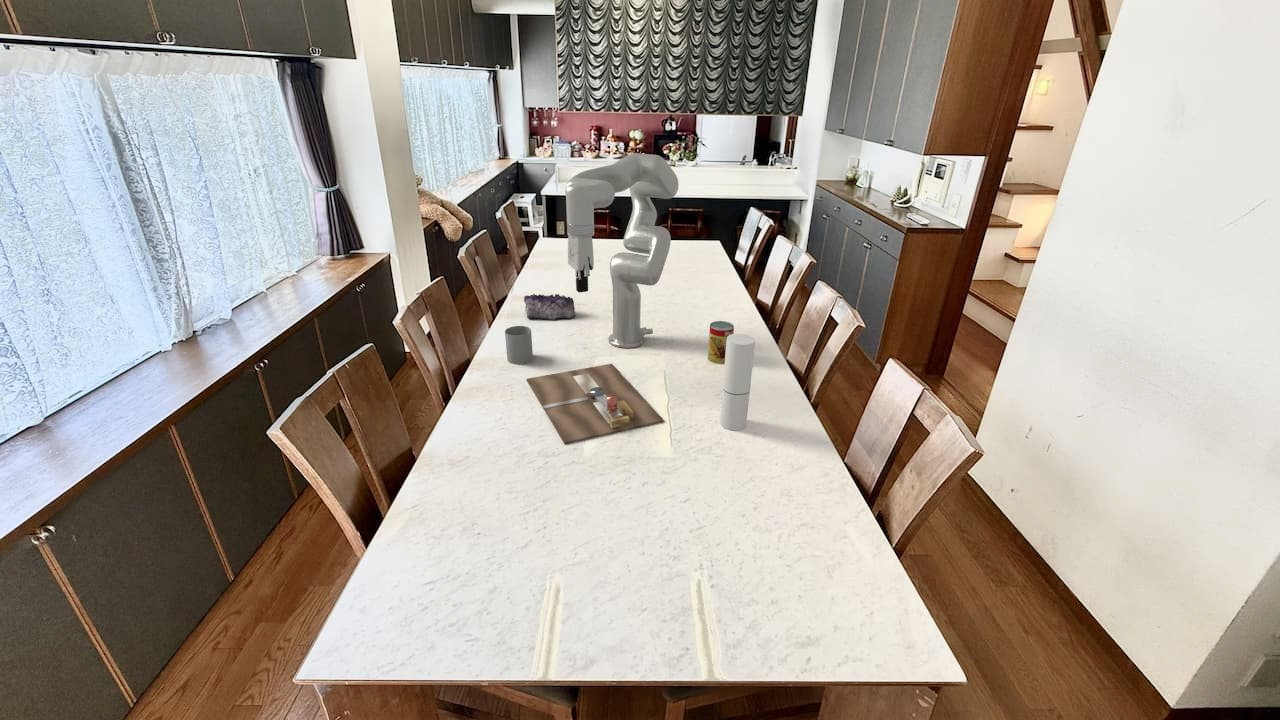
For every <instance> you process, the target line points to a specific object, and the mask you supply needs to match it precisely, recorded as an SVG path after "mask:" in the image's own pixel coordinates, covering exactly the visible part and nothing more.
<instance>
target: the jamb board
mask: <svg viewBox="0 0 1280 720" xmlns="http://www.w3.org/2000/svg"><path fill="white" fill-rule="evenodd" d="M526 382H527V384H528V385H529V387H530V389H531V390H532V392H533V394H534V396H535V397H536V398H537V401H538V402H539V403H540V405H541V407H542V409H543V411H544V412H545V413H546V416H547V417H548V419H549V420H550V422H551V423H552V425H553V427H554V428H555V431H556V432H557V434H558V436H559V437H560V438H561V441H562V442H563V444H564V445H568V444H571V443H575V442H576V443H577V442H580V441H584V440H590V439H594V438H599V437H603V436H607V435H611V434H616V433H621V432H625V431H630V430H635V429H637V428H644V427H648V426H652V425H655V424H660V423H664V419H663V418H662V416H661V415H660V414H659V413H658V412H657V411H656V410H655V409H654V408H653V407H652V406H651V405H650V404H649V402H648V401H647V400H646V399H645V398H644V397H643V396H642V395H641V393H639V392H638V390H637V389H636V388H635V387H634V386H633V384H631V382H629V381H628V379H627V378H626V377H625V376H623V374H622V373H621V372H620V371H619V370H618V368H616V366H615V365H614V364H613V363H607V364H601V365H596V366H595V365H594V366H589V367H585V368H580V369H579V368H578V369H573V370H568V371H563V372H557V373H551V374H545V375H539V376H534V377H529V378H526ZM595 387H600V388H603V389H604V394H605V395H606V396H608V395H610V394H614V395H616V396H617V409H618V410H619V411H620V412H621V414H622V415H623V417H619V418H615V419H611V418H610V417H609V416H608V414H607V413H606V412H605V411H604V410H603V408H602V407H601V406H600V405H599V403H598V402H597V401H596V400H595V399H593V398H591V395H590V390H591V389H592V388H595Z"/></svg>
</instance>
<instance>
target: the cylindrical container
mask: <svg viewBox="0 0 1280 720" xmlns="http://www.w3.org/2000/svg"><path fill="white" fill-rule="evenodd" d="M755 346H756V338H755V337H753V336H752V335H750V334H747V333H734V334H731V335H729V336H728V337H727V342H726V354H725V364H724V365H723V367H724V368H723V379H722V380H723V381H722V389H721V392H722V393H721V402H720V414H719V415H720V416H719V426H721V427H722V428H723V429H726V430H728V431H741V430H743V429H745V428H746V427H747V421H748V413H749V412H748V411H749V401H750V392H751V385H752V384H751V382H752V375H753V367H754V366H753V365H754V357H755Z"/></svg>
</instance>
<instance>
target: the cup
mask: <svg viewBox="0 0 1280 720" xmlns="http://www.w3.org/2000/svg"><path fill="white" fill-rule="evenodd" d="M504 335H505V336H504V337H505V347H506V348H505V350H506V359H507V363H510V364H512V365H525V364H528V363H530V362H532V361H533V360H534V355H533V353H534V352H533V340H532V339H533V336H532V329H531V327H528V326H526V325H514V326H510V327H506V329H505V330H504Z"/></svg>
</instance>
